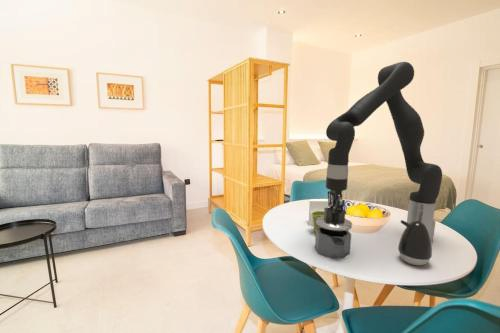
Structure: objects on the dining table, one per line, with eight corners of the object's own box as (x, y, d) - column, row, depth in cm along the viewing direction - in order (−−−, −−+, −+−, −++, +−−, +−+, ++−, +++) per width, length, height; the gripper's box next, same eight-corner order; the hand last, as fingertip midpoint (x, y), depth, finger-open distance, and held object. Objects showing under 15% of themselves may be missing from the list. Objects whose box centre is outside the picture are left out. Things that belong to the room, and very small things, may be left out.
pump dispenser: (399, 251, 102) (403, 214, 99) (431, 261, 95) (437, 220, 93) (393, 262, 94) (398, 221, 91) (428, 272, 87) (434, 229, 85)
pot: (340, 241, 110) (341, 223, 109) (355, 262, 93) (357, 241, 92) (311, 240, 110) (312, 222, 109) (321, 261, 94) (323, 240, 92)
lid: (345, 218, 106) (346, 204, 106) (357, 231, 94) (358, 215, 93) (312, 217, 107) (313, 203, 106) (320, 230, 94) (321, 214, 93)
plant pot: (333, 238, 113) (334, 218, 112) (310, 236, 115) (311, 217, 114) (331, 229, 122) (332, 211, 121) (310, 227, 124) (311, 210, 123)
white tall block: (324, 220, 134) (326, 197, 132) (329, 227, 125) (331, 203, 123) (306, 220, 134) (308, 197, 132) (310, 227, 125) (311, 202, 123)
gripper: (354, 180, 90) (350, 228, 93) (341, 173, 104) (338, 214, 107) (332, 180, 90) (329, 227, 93) (322, 172, 104) (319, 214, 107)
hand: (334, 220), depth 100 cm, fingers closed on lid, 3 cm apart
